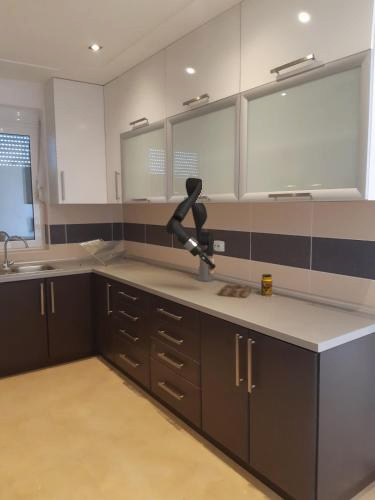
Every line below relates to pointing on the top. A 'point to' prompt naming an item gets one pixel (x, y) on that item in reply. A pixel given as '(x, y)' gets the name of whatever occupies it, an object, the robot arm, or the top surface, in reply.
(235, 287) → the clear brown food package
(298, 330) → the top surface
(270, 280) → the condiment
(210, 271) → the peg
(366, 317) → the top surface
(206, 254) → the robot arm
